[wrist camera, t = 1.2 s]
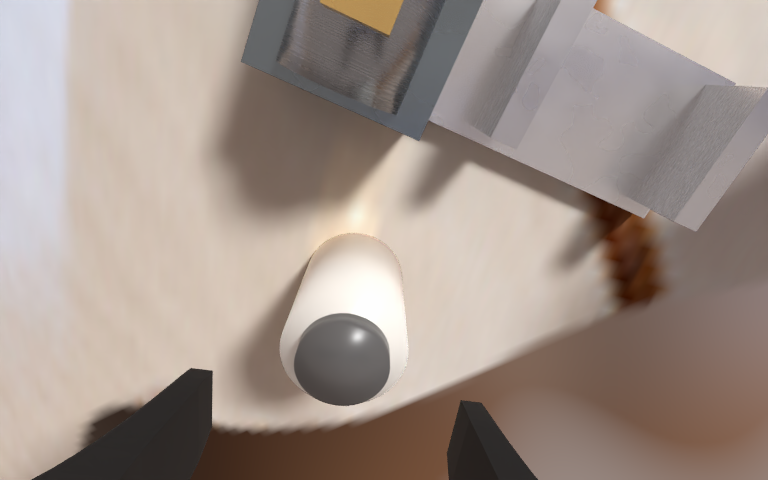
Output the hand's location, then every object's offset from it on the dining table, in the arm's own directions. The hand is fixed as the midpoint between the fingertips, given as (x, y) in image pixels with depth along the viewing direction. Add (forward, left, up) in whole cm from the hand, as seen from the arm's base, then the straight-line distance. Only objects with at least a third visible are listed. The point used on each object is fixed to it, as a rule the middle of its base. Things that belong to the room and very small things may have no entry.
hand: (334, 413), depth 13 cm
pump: (0, 0, -9) cm, 9 cm away
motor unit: (-2, -11, -9) cm, 14 cm away
